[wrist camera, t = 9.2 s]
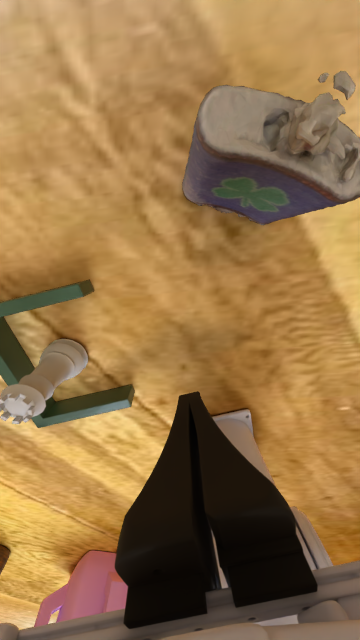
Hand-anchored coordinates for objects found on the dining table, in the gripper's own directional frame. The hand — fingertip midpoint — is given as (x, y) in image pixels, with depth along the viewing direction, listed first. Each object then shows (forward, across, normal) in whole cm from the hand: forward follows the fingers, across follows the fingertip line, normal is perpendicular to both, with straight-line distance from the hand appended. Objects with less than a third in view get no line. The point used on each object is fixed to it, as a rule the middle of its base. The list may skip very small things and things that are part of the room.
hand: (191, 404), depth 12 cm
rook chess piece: (+10, +13, -2) cm, 16 cm away
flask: (+10, -8, -13) cm, 18 cm away
